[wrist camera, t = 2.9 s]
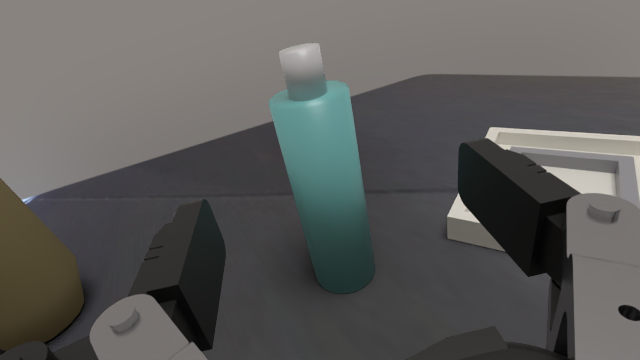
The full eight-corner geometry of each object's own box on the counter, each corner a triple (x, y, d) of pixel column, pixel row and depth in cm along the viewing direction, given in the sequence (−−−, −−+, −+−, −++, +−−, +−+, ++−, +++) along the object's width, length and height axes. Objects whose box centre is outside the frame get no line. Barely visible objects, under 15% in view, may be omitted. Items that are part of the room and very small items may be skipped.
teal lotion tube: (334, 243, 30) (290, 40, 22) (384, 257, 28) (357, 34, 19) (304, 282, 27) (238, 63, 19) (357, 302, 24) (310, 59, 16)
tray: (489, 145, 39) (490, 127, 38) (661, 160, 31) (669, 138, 30) (447, 238, 28) (447, 216, 27) (695, 295, 21) (709, 268, 19)
